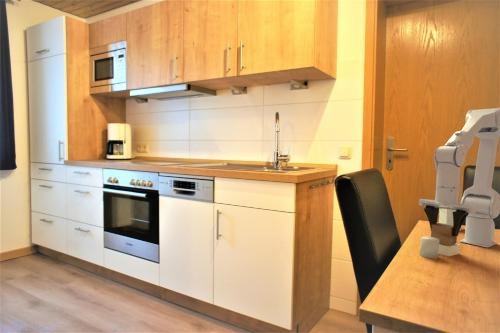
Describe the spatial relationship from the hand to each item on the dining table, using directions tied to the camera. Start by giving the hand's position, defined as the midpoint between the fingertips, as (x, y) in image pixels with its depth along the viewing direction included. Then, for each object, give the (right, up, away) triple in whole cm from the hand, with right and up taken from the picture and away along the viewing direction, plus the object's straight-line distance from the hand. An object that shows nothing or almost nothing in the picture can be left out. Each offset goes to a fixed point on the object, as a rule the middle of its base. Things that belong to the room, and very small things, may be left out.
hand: (444, 233), depth 95 cm
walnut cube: (0, -3, 0) cm, 3 cm away
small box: (+23, -5, +35) cm, 42 cm away
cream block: (0, -6, 0) cm, 6 cm away
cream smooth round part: (-7, -5, -4) cm, 10 cm away
